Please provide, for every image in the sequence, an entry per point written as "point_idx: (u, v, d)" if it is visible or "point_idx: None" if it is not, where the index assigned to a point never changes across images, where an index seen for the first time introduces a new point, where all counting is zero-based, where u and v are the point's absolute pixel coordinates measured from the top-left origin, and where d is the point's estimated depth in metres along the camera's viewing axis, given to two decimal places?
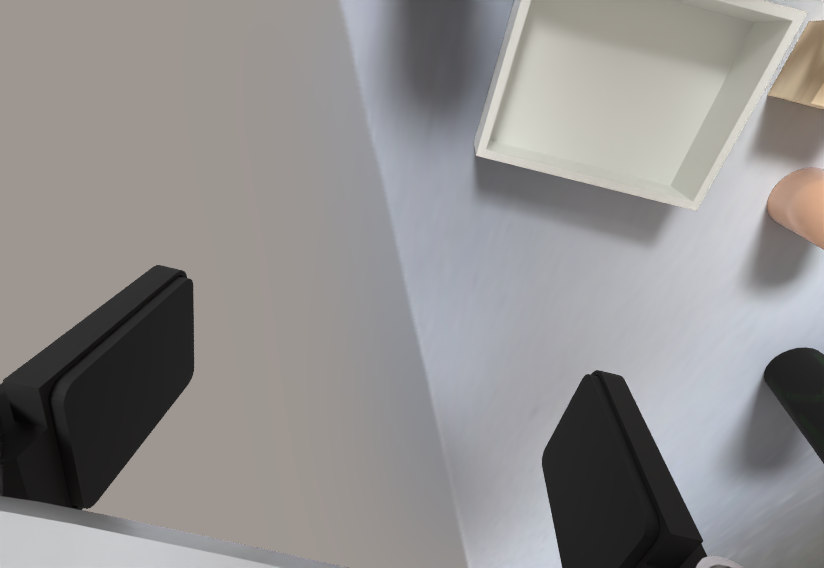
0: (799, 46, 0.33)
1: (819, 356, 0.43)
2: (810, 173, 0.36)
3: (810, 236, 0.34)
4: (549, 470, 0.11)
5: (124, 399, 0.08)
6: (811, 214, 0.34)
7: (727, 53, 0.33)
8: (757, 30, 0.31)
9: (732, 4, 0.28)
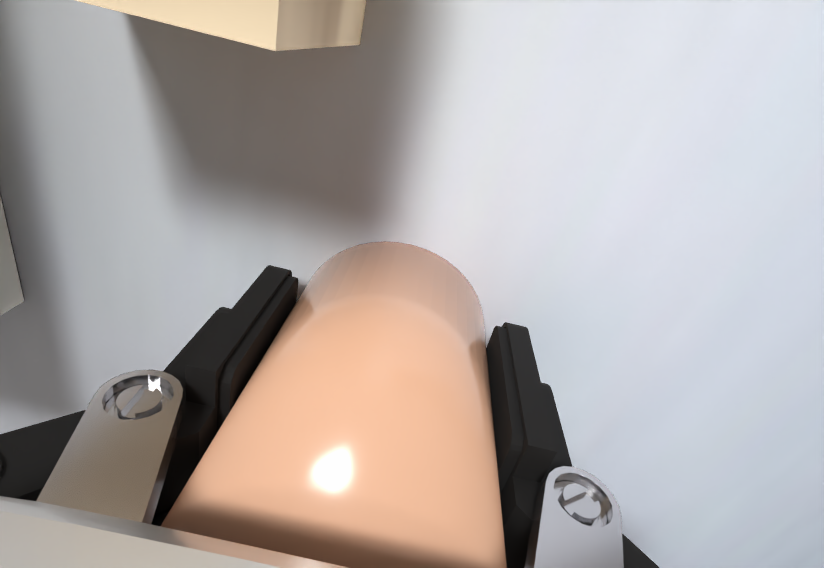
0: None
1: None
2: (340, 270, 0.10)
3: None
4: None
5: None
6: None
7: None
8: None
9: None
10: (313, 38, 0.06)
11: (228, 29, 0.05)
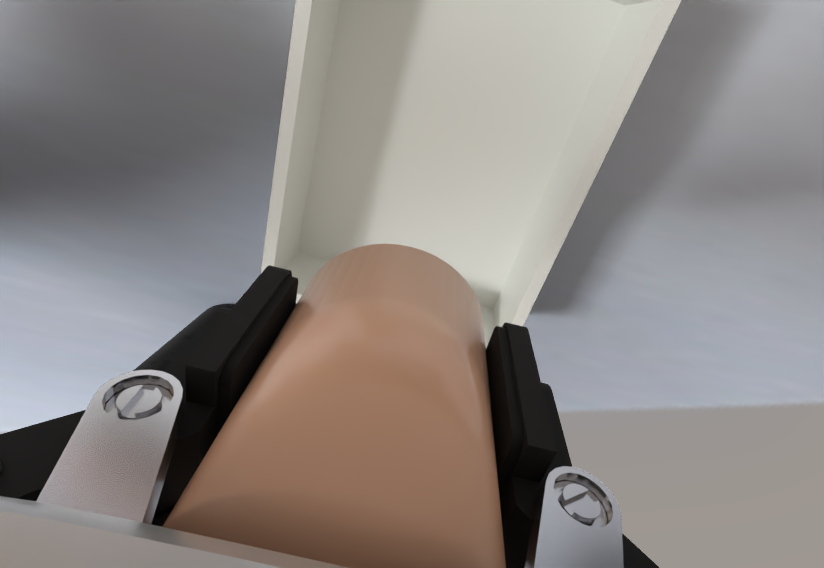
0: None
1: None
2: (340, 272, 0.10)
3: None
4: None
5: None
6: None
7: None
8: None
9: (309, 17, 0.17)
10: None
11: None
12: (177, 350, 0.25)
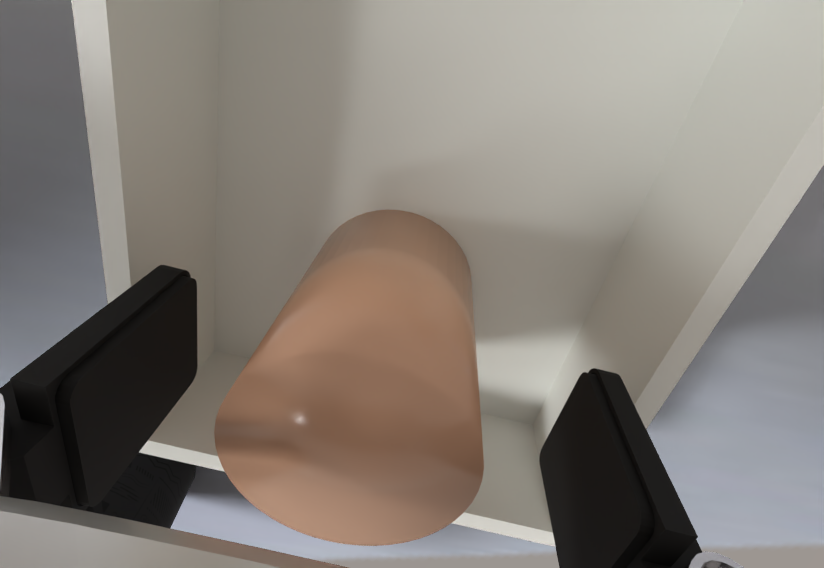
0: None
1: None
2: (351, 230, 0.12)
3: None
4: (546, 468, 0.11)
5: (129, 398, 0.08)
6: None
7: None
8: None
9: None
10: None
11: None
12: None
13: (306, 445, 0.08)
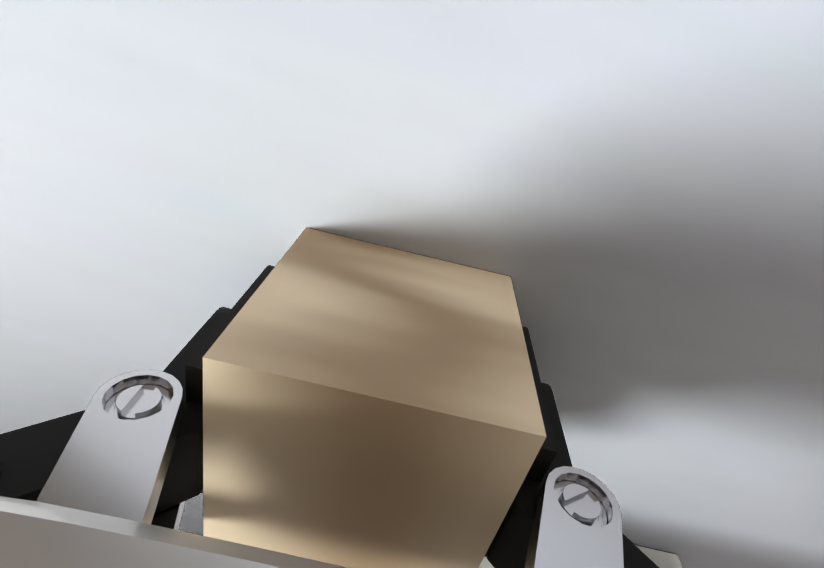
0: None
1: None
2: None
3: None
4: None
5: None
6: None
7: None
8: None
9: None
10: (525, 370, 0.08)
11: (527, 459, 0.07)
12: None
13: None
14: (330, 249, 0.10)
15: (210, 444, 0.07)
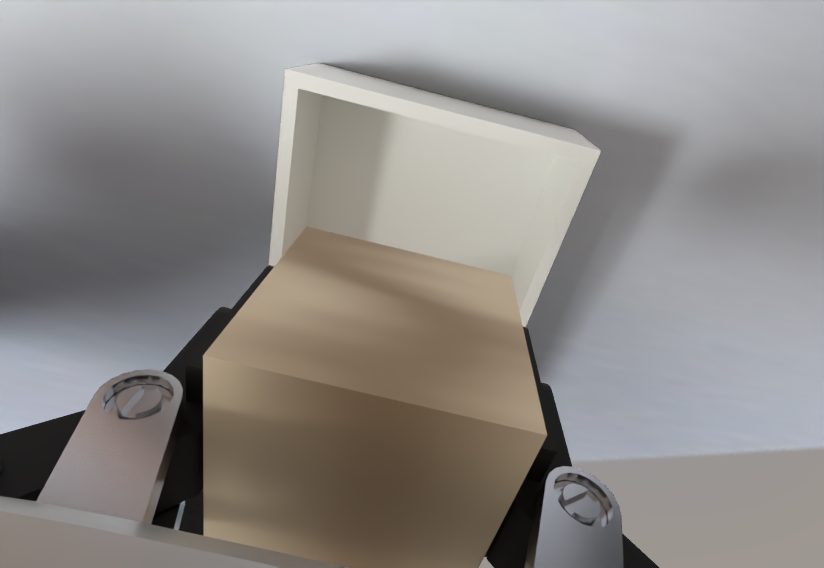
0: None
1: None
2: None
3: None
4: None
5: None
6: None
7: (365, 106, 0.23)
8: None
9: (289, 179, 0.20)
10: (525, 369, 0.08)
11: (528, 457, 0.07)
12: None
13: None
14: (330, 248, 0.10)
15: (210, 443, 0.07)
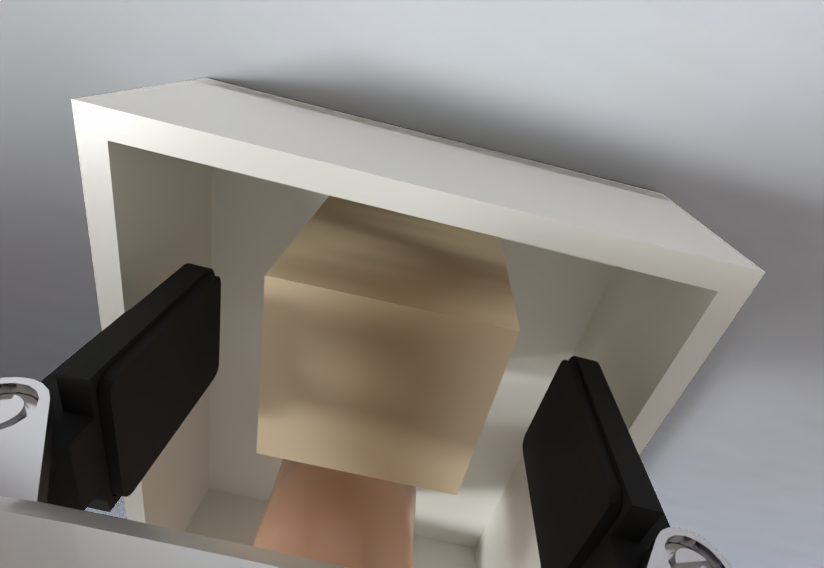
0: None
1: None
2: None
3: None
4: (528, 454, 0.11)
5: (160, 392, 0.09)
6: None
7: None
8: None
9: (126, 309, 0.10)
10: (506, 292, 0.10)
11: (507, 350, 0.09)
12: None
13: None
14: (350, 211, 0.12)
15: (267, 348, 0.09)
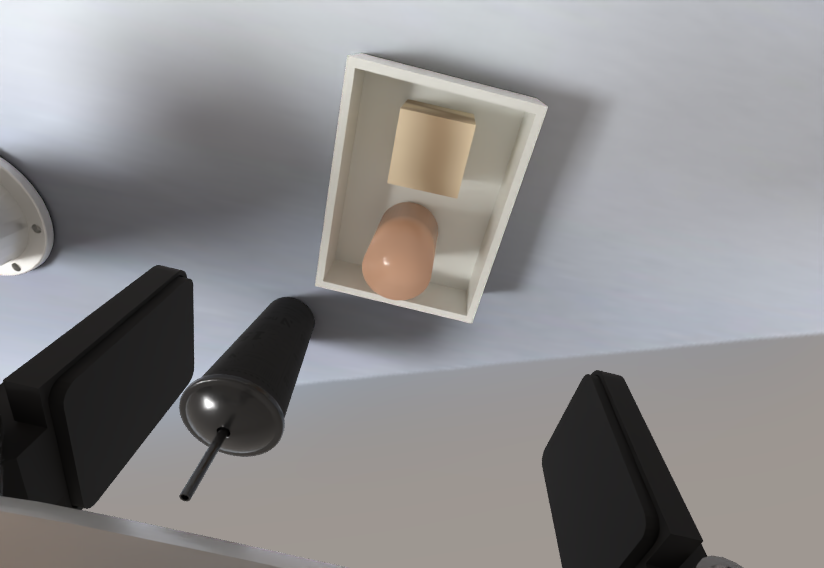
0: None
1: None
2: (381, 219, 0.37)
3: None
4: (549, 470, 0.11)
5: (124, 399, 0.08)
6: None
7: (393, 82, 0.33)
8: None
9: (345, 129, 0.31)
10: (473, 121, 0.31)
11: (472, 133, 0.30)
12: (263, 325, 0.39)
13: (385, 271, 0.33)
14: (417, 102, 0.33)
15: (397, 135, 0.30)
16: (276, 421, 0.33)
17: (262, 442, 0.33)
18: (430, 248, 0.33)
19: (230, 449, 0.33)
